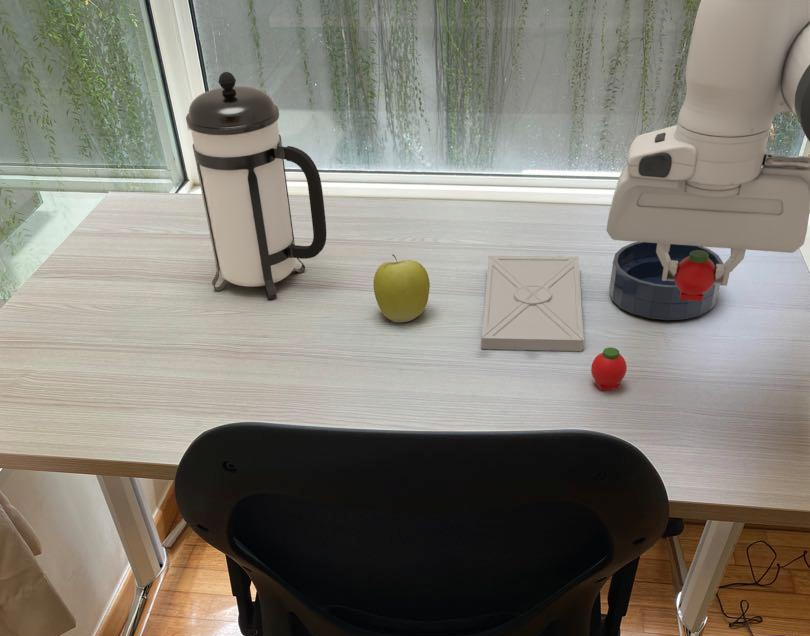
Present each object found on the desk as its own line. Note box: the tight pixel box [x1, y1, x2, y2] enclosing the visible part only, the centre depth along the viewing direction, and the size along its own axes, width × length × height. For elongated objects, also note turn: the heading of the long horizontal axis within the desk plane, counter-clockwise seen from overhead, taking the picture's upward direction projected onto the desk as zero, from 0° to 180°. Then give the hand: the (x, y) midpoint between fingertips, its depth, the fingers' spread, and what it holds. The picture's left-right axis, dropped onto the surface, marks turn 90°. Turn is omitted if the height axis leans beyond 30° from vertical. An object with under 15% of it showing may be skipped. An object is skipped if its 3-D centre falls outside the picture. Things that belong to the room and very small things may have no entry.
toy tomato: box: [675, 250, 716, 301], centre depth 97 cm, size 4×4×5 cm
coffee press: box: [185, 71, 327, 300], centre depth 128 cm, size 17×16×30 cm
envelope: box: [480, 255, 584, 352], centre depth 127 cm, size 24×2×14 cm
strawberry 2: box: [590, 347, 628, 392], centre depth 111 cm, size 4×4×5 cm
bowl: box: [608, 241, 725, 321], centre depth 127 cm, size 15×15×6 cm
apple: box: [373, 254, 431, 323], centre depth 125 cm, size 8×8×10 cm
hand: (693, 280), depth 97 cm, fingers closed on toy tomato, 4 cm apart
